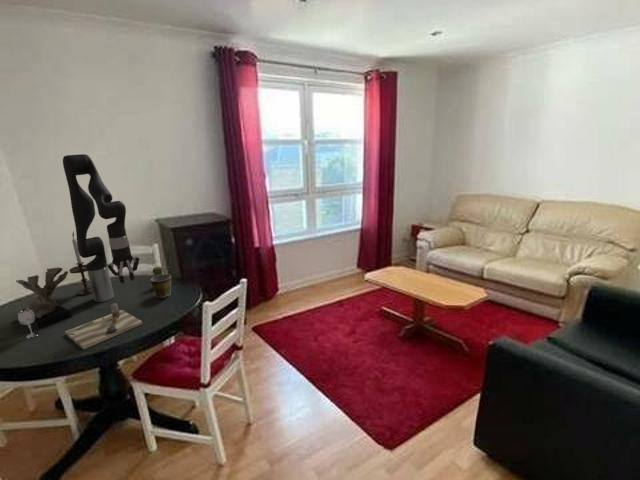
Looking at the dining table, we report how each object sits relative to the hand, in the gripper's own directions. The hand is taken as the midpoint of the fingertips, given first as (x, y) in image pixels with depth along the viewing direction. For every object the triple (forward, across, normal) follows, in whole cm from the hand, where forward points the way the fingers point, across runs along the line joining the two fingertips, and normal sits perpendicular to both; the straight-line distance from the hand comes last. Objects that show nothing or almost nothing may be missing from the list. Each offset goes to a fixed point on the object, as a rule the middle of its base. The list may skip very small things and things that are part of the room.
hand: (127, 281), depth 168 cm
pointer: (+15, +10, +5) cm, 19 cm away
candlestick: (+17, +7, -51) cm, 54 cm away
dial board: (+17, +14, +4) cm, 22 cm away
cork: (+17, -24, -26) cm, 39 cm away
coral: (+17, +26, -34) cm, 47 cm away
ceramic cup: (+17, -19, -12) cm, 28 cm away
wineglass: (+17, +37, -16) cm, 44 cm away
